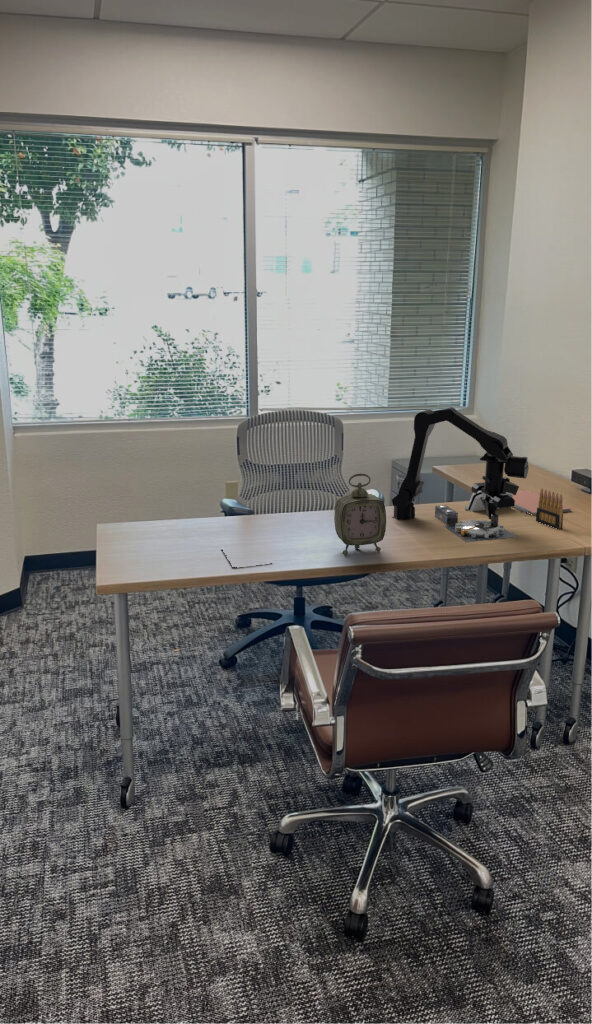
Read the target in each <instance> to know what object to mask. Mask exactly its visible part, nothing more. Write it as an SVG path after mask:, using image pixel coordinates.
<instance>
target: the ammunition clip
mask: <svg viewBox="0 0 592 1024" xmlns="http://www.w3.org/2000/svg"><path fill="white" fill-rule="evenodd" d="M539 495H540V497H539V503H538V507H537V515H535V516H536V517H535V522H536V521H538V522H537V523H539V522H541V523H540V524H542V523H543V524H542V525H544V524H546V525H545V526H547V525H549V526H548V527H550V526H552V527H551V528H553V527H554V528H553V529H555V528H557V529H556V530H562V529H563V527H564V526H563V520H564V514H563V512H562V510H563V505H564V504H563V501H564V499H563V495H562V493H561V494H559V493H558V492H556V493H555V491H552V492H551V490H549V491H547V489H545V490H544V488H541V489H540V491H539ZM543 496H544V497H543Z"/></svg>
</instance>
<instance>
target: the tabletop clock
mask: <svg viewBox="0 0 592 1024" xmlns="http://www.w3.org/2000/svg"><path fill="white" fill-rule="evenodd" d="M356 477H366V478H367V479H368V481H367V482H366V483H364V484H362V482H358V483H357V484H352V483H351V481H352V479H353V478H356ZM371 481H372V480H371V477H370V475H369V474H366V473H356V474H352V475H351V477H349V479H348V484H349V486H351V487H354V489H353V490H352V491H351V494H348V495H343V496H341V497H338V498H337V499H336V502H335V506H334V518H333V519H334V528H335V529H334V530H335V534H336V535H337V537H338V539H340V541H342V543H343V544H344V545H345V549H344V550H342V554H343V555H344V556H348V554H349V552H348V549H349V547H350V546H354V549H356V550H359V549H360V547H361V546H366V545H374V547H375V551H376V552H377V553H380V551H382V548H381V547H380V546H378V544H377V543H380V542H381V541H383V540H384V537H385V536H386V535H385V534H386V530H387V529H386V527H387V511H386V507H385V503H384V501H383V500H382V499H380V498H379V497H378V496H377V495H376V494H375V495H374V494H372V493H369V492H368V491H367V490H366V489H365V487H366V486H369V484H370V483H371ZM358 548H359V549H358Z"/></svg>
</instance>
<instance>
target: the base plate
mask: <svg viewBox="0 0 592 1024" xmlns="http://www.w3.org/2000/svg"><path fill="white" fill-rule="evenodd" d="M488 522H491V520H488ZM442 527H443V528H445V529H446V530H447V531H449V532H451V533H452V534H453V535H455V536H456V537H458V538H459V539H461V540H462V541H464V543H473V542H475V543H476V542H483V541H492V540H501V539H502V540H503V539H510V538H518V536H517V535H516V534H514V533H512V532H510V531H509V530H507V529H505V528H504V527H503V529H504V533H503V534H499V536H498V537H495V536H489V537H488V538H484V537H476V538H472V536H469V535H464V536H463V535H461V532H456V531H455V524H448V525H446V524H445V525H442Z"/></svg>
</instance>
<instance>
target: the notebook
mask: <svg viewBox="0 0 592 1024" xmlns="http://www.w3.org/2000/svg"><path fill="white" fill-rule="evenodd" d="M512 495H513V494H512ZM539 497H540V493H539V494H538V493H537V492H534V491H531V490H530V489H528V490H521V491H520V490H519V491H517V493H516V495H513V499H514V500H515V506H514V507H513V508H515V509H517V510H518V511H519V510H520V512H521V511H522V512H521V513H523V512H524V513H523V514H528V513H530V514H532V515H534V516H536V515H537V507H538V503H539ZM543 497H544V495H543ZM562 505H563V510H562V513H565V512H566V513H567V512H571V510H572V509H573V508H571V507H570V506H567V505H565V504H562ZM526 512H528V513H526ZM530 514H529V515H530ZM532 515H531V516H532Z"/></svg>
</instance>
